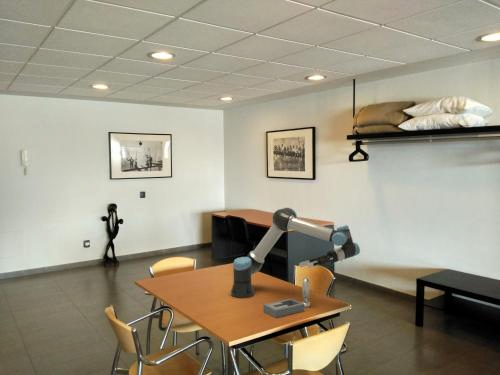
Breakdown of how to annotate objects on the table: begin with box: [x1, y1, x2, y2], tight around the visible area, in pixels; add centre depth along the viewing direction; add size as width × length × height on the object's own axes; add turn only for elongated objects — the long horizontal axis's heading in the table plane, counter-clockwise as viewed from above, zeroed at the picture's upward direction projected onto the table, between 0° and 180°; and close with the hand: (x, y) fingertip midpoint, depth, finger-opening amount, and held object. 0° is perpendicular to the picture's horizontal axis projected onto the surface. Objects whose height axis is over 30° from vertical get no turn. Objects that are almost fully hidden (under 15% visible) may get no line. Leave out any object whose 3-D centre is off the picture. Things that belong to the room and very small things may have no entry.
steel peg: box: [301, 277, 311, 308], centre depth 237 cm, size 5×5×16 cm
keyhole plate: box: [262, 298, 305, 319], centre depth 228 cm, size 20×12×4 cm, turn 122°
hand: (303, 265), depth 236 cm, fingers open, 13 cm apart
